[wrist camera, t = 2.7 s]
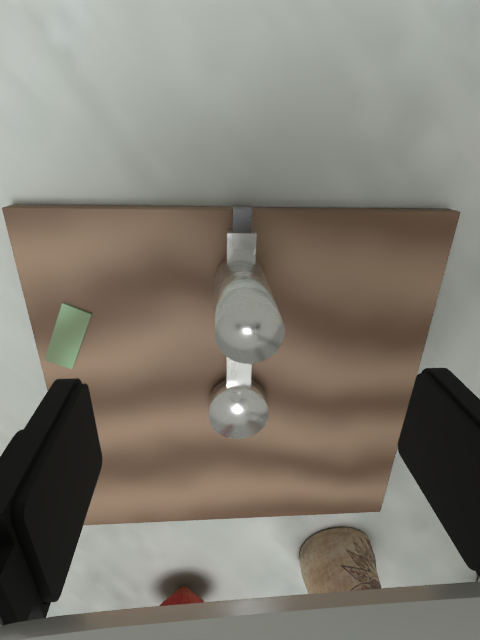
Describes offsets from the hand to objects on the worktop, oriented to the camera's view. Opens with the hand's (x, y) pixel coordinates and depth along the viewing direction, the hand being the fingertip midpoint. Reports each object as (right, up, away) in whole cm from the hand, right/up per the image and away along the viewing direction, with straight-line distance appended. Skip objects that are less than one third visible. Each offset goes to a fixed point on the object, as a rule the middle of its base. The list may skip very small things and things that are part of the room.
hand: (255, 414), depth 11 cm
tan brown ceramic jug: (+9, -20, +26) cm, 34 cm away
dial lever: (-1, +2, +13) cm, 13 cm away
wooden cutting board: (-1, -2, +17) cm, 17 cm away
